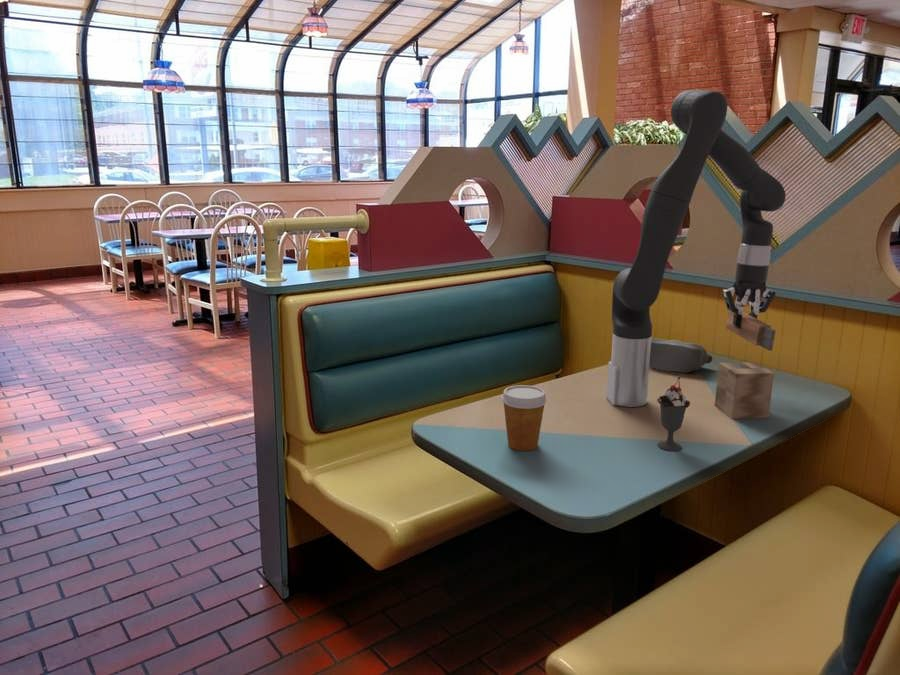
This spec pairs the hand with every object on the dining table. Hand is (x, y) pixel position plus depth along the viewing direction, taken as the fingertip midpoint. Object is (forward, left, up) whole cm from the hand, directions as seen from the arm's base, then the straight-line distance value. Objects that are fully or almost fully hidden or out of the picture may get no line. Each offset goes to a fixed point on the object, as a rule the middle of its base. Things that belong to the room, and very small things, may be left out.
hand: (743, 327), depth 185 cm
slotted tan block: (-8, -18, -16) cm, 25 cm away
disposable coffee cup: (-64, -34, -16) cm, 74 cm away
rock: (-10, +19, -17) cm, 27 cm away
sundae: (-33, -37, -16) cm, 52 cm away
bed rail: (0, -4, -2) cm, 4 cm away
